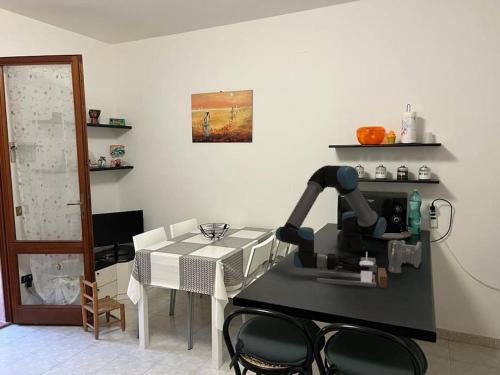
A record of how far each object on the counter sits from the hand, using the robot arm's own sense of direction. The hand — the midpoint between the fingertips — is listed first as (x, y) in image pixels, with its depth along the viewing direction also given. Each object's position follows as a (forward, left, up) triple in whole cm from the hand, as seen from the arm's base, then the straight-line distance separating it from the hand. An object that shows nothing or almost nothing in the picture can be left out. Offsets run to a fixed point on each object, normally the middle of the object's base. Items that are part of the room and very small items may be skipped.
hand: (376, 264), depth 167 cm
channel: (-5, -9, -8) cm, 14 cm away
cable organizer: (-17, +31, -9) cm, 37 cm away
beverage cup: (-2, -4, -8) cm, 9 cm away
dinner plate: (-73, +58, -9) cm, 93 cm away
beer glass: (-11, +18, -8) cm, 22 cm away
